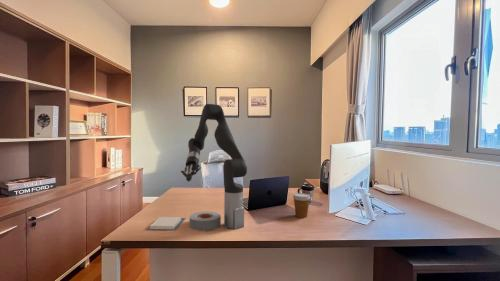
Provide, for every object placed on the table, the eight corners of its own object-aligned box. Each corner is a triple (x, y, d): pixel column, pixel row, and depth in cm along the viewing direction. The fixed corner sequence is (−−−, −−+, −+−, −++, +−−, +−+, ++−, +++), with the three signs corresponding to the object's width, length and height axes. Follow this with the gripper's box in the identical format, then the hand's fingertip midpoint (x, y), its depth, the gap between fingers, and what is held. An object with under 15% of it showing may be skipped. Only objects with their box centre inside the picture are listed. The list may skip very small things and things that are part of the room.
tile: (181, 217, 134) (173, 226, 121) (181, 220, 135) (173, 229, 122) (160, 216, 135) (150, 225, 122) (160, 220, 135) (150, 229, 122)
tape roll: (187, 222, 133) (187, 212, 133) (216, 219, 139) (216, 209, 139) (191, 233, 119) (191, 222, 119) (224, 229, 125) (224, 218, 124)
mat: (186, 218, 139) (186, 217, 139) (176, 231, 121) (176, 230, 121) (160, 218, 139) (160, 217, 139) (146, 230, 121) (146, 229, 121)
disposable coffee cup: (290, 217, 143) (290, 195, 143) (295, 212, 152) (296, 192, 151) (307, 219, 139) (307, 197, 138) (311, 215, 147) (312, 194, 147)
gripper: (180, 159, 160) (174, 179, 146) (199, 152, 157) (195, 172, 143) (186, 167, 164) (181, 187, 150) (205, 161, 161) (202, 181, 147)
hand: (188, 180), depth 146 cm, fingers closed
